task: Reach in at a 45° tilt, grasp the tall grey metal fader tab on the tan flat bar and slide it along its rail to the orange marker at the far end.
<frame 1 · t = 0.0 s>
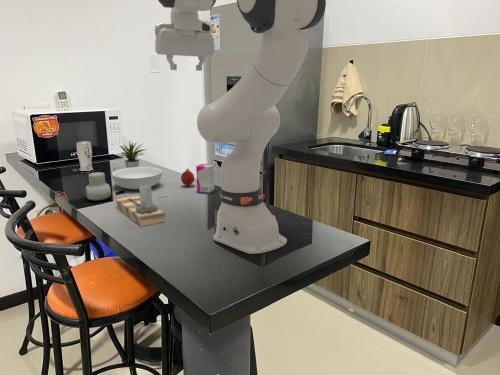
hand: (186, 70, 126), 48 cm above the breakfast bar, tool pointing down, fingers open, 8 cm apart
fader: (146, 198, 124), point 7 cm above the breakfast bar, slide at 0.0 cm
onion: (188, 186, 167), on the breakfast bar
house plant: (131, 173, 191), on the breakfast bar
tan flat bar: (139, 213, 132), on the breakfast bar
supplement box: (205, 192, 159), on the breakfast bar
serving bowl: (138, 187, 166), on the breakfast bar
air freshener: (99, 199, 149), on the breakfast bar
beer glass: (86, 171, 195), on the breakfast bar
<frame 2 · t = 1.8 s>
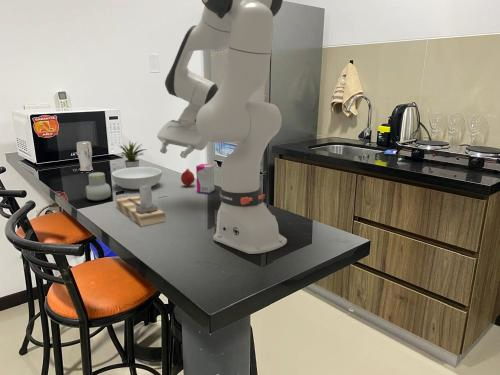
hand: (172, 154, 131), 20 cm above the breakfast bar, tool tilted 45°, fingers open, 8 cm apart
nothing on the breakfast bar moved.
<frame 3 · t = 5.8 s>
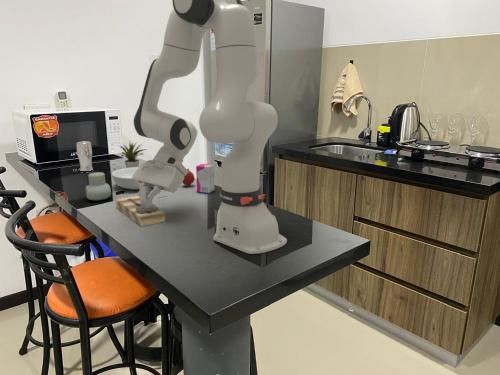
hand: (144, 197, 124), 8 cm above the breakfast bar, tool tilted 45°, fingers closed on fader, 3 cm apart
fader: (146, 198, 124), point 7 cm above the breakfast bar, slide at 0.0 cm, touching gripper
everything else where it was.
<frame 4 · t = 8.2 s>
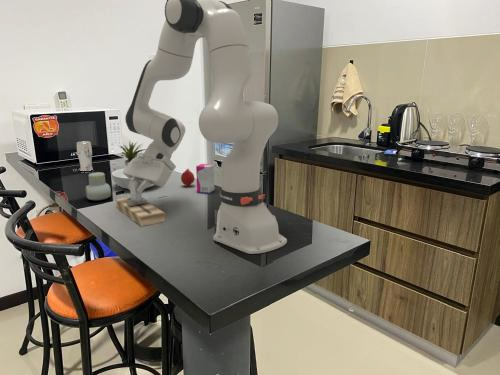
hand: (134, 190, 131), 8 cm above the breakfast bar, tool tilted 45°, fingers closed on fader, 3 cm apart
fader: (135, 192, 131), point 7 cm above the breakfast bar, slide at 9.1 cm, touching gripper
everything else where it was.
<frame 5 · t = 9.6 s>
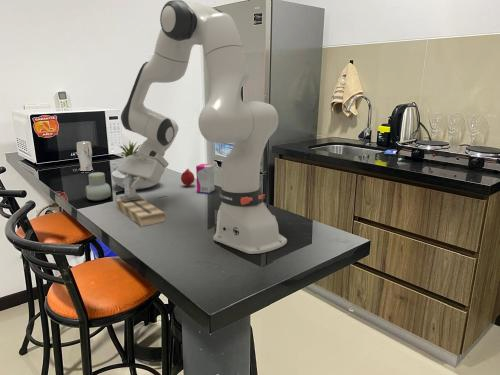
hand: (128, 187, 135), 8 cm above the breakfast bar, tool tilted 45°, fingers closed on fader, 3 cm apart
fader: (129, 188, 136), point 7 cm above the breakfast bar, slide at 14.9 cm, touching gripper
everything else where it was.
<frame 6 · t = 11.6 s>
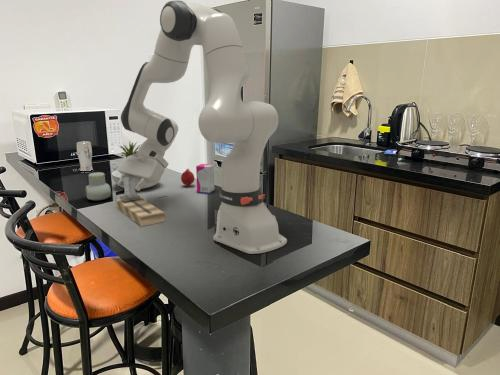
hand: (128, 187, 135), 8 cm above the breakfast bar, tool tilted 45°, fingers open, 8 cm apart
fader: (129, 188, 136), point 7 cm above the breakfast bar, slide at 15.1 cm
everything else where it was.
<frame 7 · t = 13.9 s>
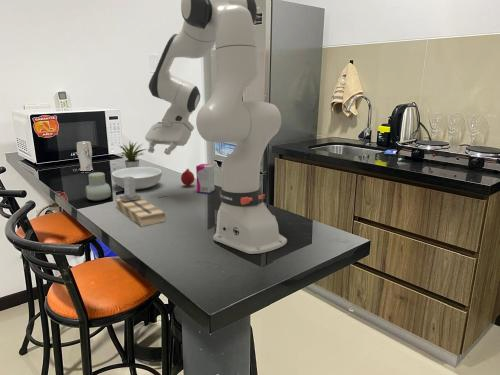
hand: (158, 152, 141), 19 cm above the breakfast bar, tool tilted 40°, fingers open, 8 cm apart
nothing on the breakfast bar moved.
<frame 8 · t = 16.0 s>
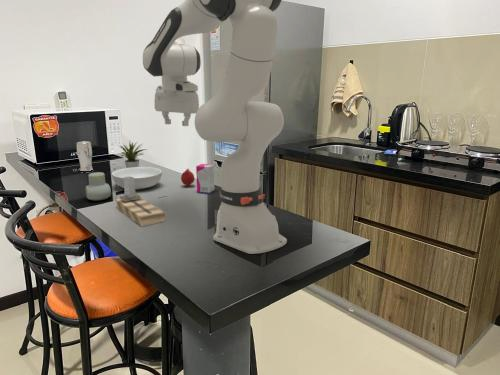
hand: (176, 125, 138), 29 cm above the breakfast bar, tool pointing down, fingers open, 8 cm apart
nothing on the breakfast bar moved.
at the end: fader slide at 15.1 cm; the gripper is holding nothing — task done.
